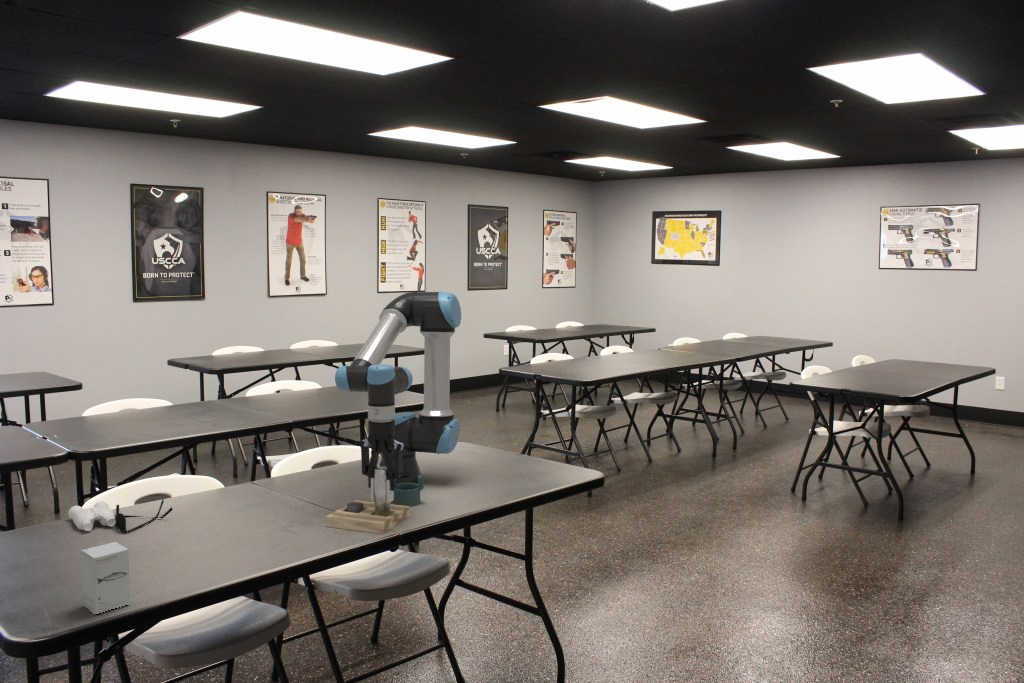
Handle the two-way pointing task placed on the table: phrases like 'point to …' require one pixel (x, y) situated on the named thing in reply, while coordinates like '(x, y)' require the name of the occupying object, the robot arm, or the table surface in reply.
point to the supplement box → (105, 577)
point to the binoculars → (92, 516)
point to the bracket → (408, 493)
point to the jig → (367, 517)
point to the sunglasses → (122, 521)
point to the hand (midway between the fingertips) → (382, 500)
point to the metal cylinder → (381, 489)
